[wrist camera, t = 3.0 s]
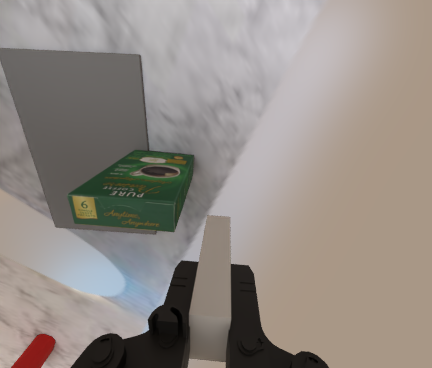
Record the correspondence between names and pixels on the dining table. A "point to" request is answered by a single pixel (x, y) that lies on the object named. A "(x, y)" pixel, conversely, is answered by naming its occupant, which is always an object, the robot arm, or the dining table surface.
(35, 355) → the french fries
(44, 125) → the slate mat
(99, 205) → the coffee box
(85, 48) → the dining table surface
